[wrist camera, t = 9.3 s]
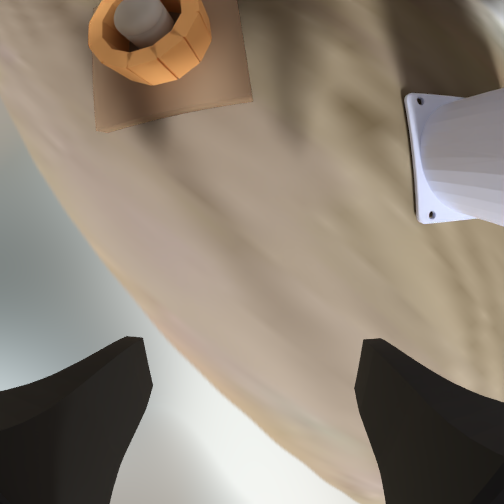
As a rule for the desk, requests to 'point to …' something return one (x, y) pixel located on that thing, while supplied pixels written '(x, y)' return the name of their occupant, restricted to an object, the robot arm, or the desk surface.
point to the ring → (158, 55)
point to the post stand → (184, 89)
